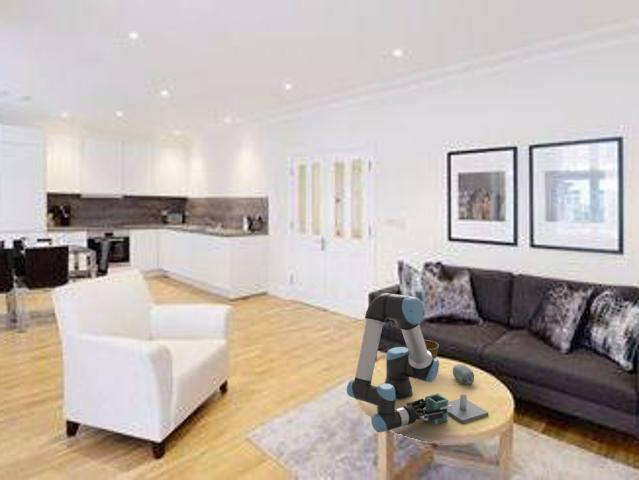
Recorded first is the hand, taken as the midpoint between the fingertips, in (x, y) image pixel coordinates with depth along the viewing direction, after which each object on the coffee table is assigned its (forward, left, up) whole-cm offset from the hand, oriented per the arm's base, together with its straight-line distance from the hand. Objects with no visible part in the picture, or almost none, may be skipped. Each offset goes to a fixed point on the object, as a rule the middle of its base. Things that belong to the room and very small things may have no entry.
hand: (445, 404), depth 203 cm
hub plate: (0, +11, -6) cm, 13 cm away
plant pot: (-45, +25, -6) cm, 52 cm away
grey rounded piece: (-25, +35, -7) cm, 44 cm away
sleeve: (0, -5, -6) cm, 8 cm away
